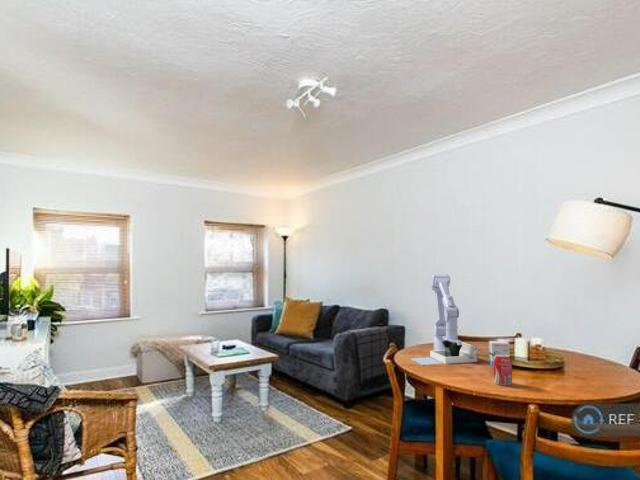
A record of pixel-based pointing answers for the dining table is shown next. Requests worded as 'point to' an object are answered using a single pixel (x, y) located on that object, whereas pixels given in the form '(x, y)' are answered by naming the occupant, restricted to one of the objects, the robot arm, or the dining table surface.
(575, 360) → the dining table surface
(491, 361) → the ink box
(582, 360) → the dining table surface
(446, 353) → the block
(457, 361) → the case
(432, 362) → the mat
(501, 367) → the soda can
